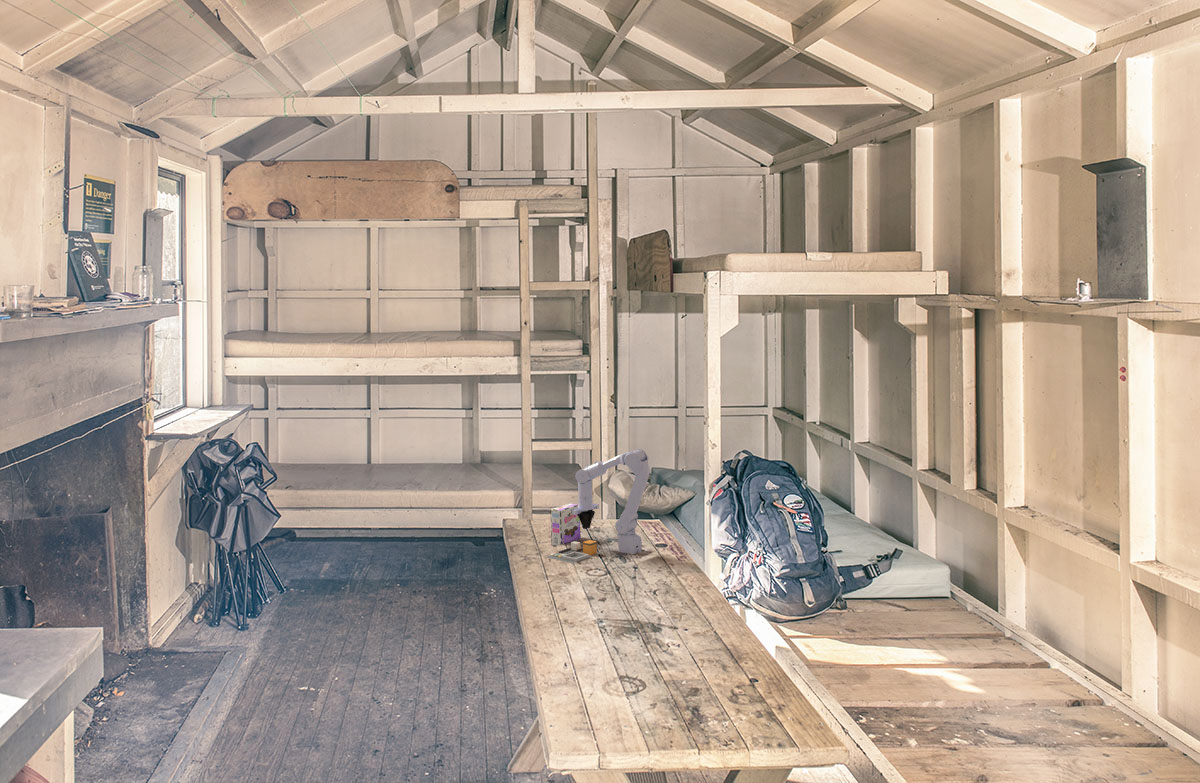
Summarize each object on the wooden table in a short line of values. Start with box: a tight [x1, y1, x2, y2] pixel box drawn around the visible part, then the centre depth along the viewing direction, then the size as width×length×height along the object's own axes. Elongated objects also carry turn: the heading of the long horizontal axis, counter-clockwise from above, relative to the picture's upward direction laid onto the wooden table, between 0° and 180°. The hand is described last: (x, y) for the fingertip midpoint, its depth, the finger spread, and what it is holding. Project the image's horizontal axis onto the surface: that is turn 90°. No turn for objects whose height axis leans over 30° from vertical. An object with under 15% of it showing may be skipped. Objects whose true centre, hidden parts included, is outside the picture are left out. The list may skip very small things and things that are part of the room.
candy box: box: [550, 503, 581, 547], centre depth 408 cm, size 14×6×16 cm, turn 143°
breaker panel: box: [545, 546, 603, 564], centre depth 384 cm, size 16×18×3 cm
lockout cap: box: [582, 539, 598, 555], centre depth 385 cm, size 4×4×5 cm
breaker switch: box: [570, 540, 581, 550], centre depth 391 cm, size 3×2×3 cm
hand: (586, 528), depth 396 cm, fingers closed
